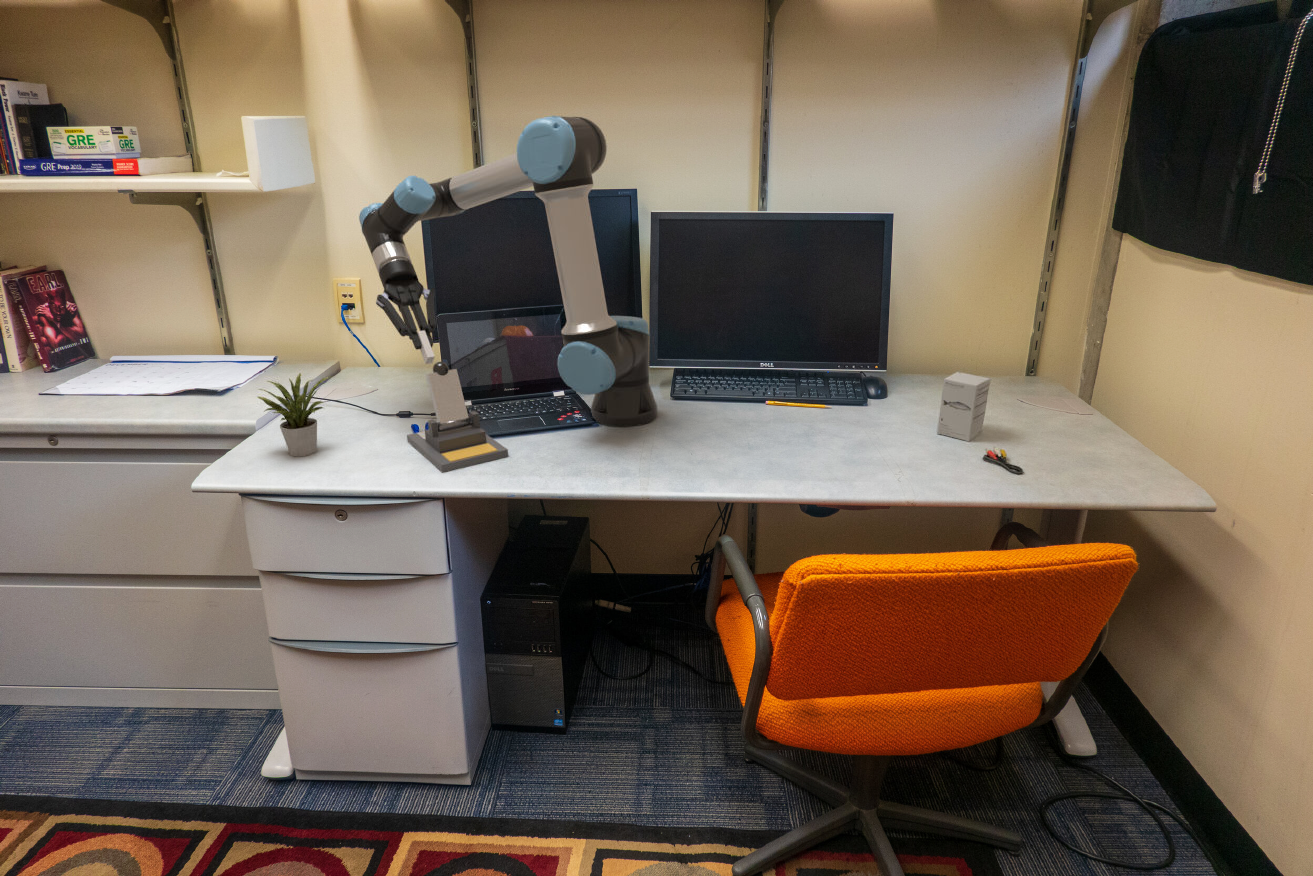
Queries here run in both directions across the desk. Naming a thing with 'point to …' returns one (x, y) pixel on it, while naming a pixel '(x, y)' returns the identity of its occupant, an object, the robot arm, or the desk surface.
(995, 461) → the composite cable
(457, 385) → the toggle lever
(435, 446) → the switch unit
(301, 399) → the house plant
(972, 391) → the supplement box
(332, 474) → the desk surface
